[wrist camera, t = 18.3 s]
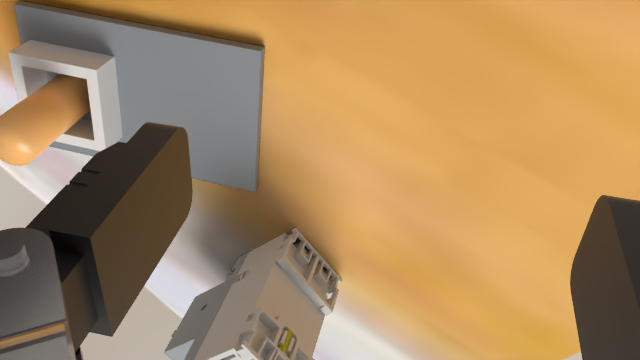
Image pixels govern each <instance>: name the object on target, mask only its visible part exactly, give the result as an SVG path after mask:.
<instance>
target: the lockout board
mask: <svg viewBox="0 0 640 360" xmlns="http://www.w3.org/2000/svg"><path fill="white" fill-rule="evenodd" d="M14 9H15V14H16V19H17V24H18V30H19V35H20V40H21V45H20V46H19V47H17V48H15V49H14V50H12V51H10V52H8V53H9V58H10V63H11V68H12V73H13V78H14V83H15V88H16V92H17V97H18V102H21V101H22V100H24V99H25V98H26V97H28V96H29V95H31V94H32V93H33V92H35V91H36V90H38V89H39V88H40V87H42V86H43V85H45V84H46V83H47V82H49V81H50V80H52V79H53V78H54V77H56V76H57V75H59V74H64V75H69V76H74V77H79V78H84V79H87V86H88V94H89V101H90V109H91V110H90V111H89V112H88V113H86V114H85V115H84V116H83V117H82V118H81V119H79V120H78V121H77V122H76V123H75V124H74V125H72V126H71V127H70V128H69V129H68V130H67V131H65V132H64V133H63V134H62V135H61V136H60V137H59V138H57V139H56V140H55V141H54V142H53V143H52V144H50V145H49V146H50V147H54V148H59V149H63V150H68V151H72V152H77V153H81V154H86V155H90V156H94V155H95V154H96V153H98V152H100V151H102V150H104V149H106V148H108V147H110V146H111V145H113V144H115V143H117V142H124V143H127V142H128V141H129V140H130V139H131V138H132V136H133V135H134V134H135V133H136V132H137V131H138V130H139V129H140V128H141V126H142V125H143V124H144V123H146V122H152V123H158V124H165V125H171V126H177V127H183V128H184V129H185V130H186V132H187V135H188V144H189V155H190V167H191V178H194V179H198V180H203V181H207V182H212V183H216V184H221V185H225V186H230V187H234V188H239V189H243V190H248V191H252V192H255V190H256V188H257V187H258V171H259V152H260V132H261V112H262V92H263V73H264V53H265V47H263V46H258V45H252V44H247V43H242V42H236V41H231V40H226V39H221V38H215V37H210V36H205V35H199V34H194V33H189V32H184V31H178V30H173V29H168V28H162V27H157V26H152V25H146V24H141V23H136V22H131V21H125V20H120V19H115V18H109V17H104V16H99V15H94V14H88V13H83V12H78V11H72V10H67V9H62V8H57V7H51V6H46V5H41V4H35V3H30V2H25V1H20V2H17V3H15V4H14Z"/></svg>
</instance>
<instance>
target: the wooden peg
mask: <svg viewBox="0 0 640 360" xmlns="http://www.w3.org/2000/svg"><path fill="white" fill-rule="evenodd" d="M90 110H91V109H90V101H89V94H88V86H87V79H84V78H79V77H74V76H69V75H64V74H59V75H57V76H56V77H54V78H53V79H52V80H50V81H49V82H47V83H46V84H45V85H43V86H42V87H40V88H39V89H38V90H36V91H35V92H33V93H32V94H31V95H29V96H28V97H26V98H25V99H24V100H22V101H21V102H19V103H18V104H16V105H15V106H14V107H12V108H11V109H9V110H8V111H7V112H5V113H4V114H2V115H1V116H0V159H1V160H2V161H4V162H6V163H8V164H11V165H14V166H24V165H26V164H28V163H30V162H31V161H32V160H33V159H34V158H35V157H37V156H38V155H39V154H40V153H41V152H42V151H43V150H45V149H46V148H47V147H48V146H49V145H50V144H52V143H53V142H54V141H55V140H56V139H57V138H59V137H60V136H61V135H62V134H63V133H64V132H65V131H67V130H68V129H69V128H70V127H71V126H72V125H74V124H75V123H76V122H77V121H78V120H79V119H81V118H82V117H83V116H84V115H85V114H86V113H88V112H89V111H90Z"/></svg>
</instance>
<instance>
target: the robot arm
mask: <svg viewBox="0 0 640 360" xmlns="http://www.w3.org/2000/svg"><path fill="white" fill-rule="evenodd" d="M191 202H192V178H191V167H190V155H189V144H188V135H187V132H186V130H185V129H184V128H183V127H177V126H171V125H165V124H158V123H152V122H146V123H144V124H143V125H142V126H141V128H140V129H139V130H138V131H137V132H136V133H135V134H134V135H133V136H132V138H131V139H130V140H129V141H128V142H127V143H124V142H117V143H115V144H113V145H111V146H110V147H108V148H106V149H104V150H102V151H100V152H98V153H96V154H95V155H94V157H93V158H92V159H91V160H90V161H89V162H88V163H87V164H86V165H85V166H84V167H83V168H82V171H81V172H78V173H77V174H76V175H75V176H74V177H73V179H72V180H71V181H70V184H69V185H66V186H65V187H64V188H63V189H62V190H61V191H60V192H59V193H58V194H57V195H56V196H55V197H54V198H53V200H52V201H51V202H50V203H49V204H48V205H47V206H46V207H45V208H44V209H43V210H42V211H41V212H40V213H39V214H38V215H37V216H36V217H35V218H34V219H33V221H32V222H31V223H30V224H29V225H28V226H27V227H26V228H12V229H6V230H2V231H0V360H83V355H82V351H81V347H80V345H81V344H82V342H83V341H84V339H85V338H86V336H87V334H88V333H89V332H93V333H97V334H102V335H106V336H113V334H114V333H115V331H116V330H117V328H118V326H119V325H120V323H121V322H122V320H123V318H124V317H125V315H126V313H127V312H128V310H129V309H130V307H131V306H132V304H133V302H134V301H135V299H136V297H137V296H138V295H139V293H140V291H141V290H142V288H143V287H144V285H145V283H146V282H147V280H148V279H149V277H150V275H151V274H152V272H153V271H154V269H155V267H156V266H157V264H158V263H159V261H160V260H161V258H162V256H163V255H164V253H165V252H166V250H167V248H168V247H169V245H170V244H171V242H172V240H173V239H174V237H175V236H176V234H177V232H178V231H179V229H180V228H181V226H182V225H183V223H184V221H185V220H186V218H187V216H188V213H189V210H190V207H191ZM570 287H571V295H572V301H573V306H574V312H575V318H576V324H577V330H578V336H579V342H580V347H581V353H582V359H583V360H640V201H637V200H631V199H624V198H618V197H612V196H606V195H602V196H601V197H600V198H599V199H598V200H597V202H596V204H595V207H594V209H593V212H592V214H591V217H590V219H589V222H588V224H587V227H586V229H585V232H584V234H583V237H582V239H581V242H580V244H579V247H578V250H577V252H576V255H575V257H574V261H573V265H572V270H571V279H570Z"/></svg>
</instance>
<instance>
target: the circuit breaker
mask: <svg viewBox="0 0 640 360" xmlns="http://www.w3.org/2000/svg"><path fill="white" fill-rule="evenodd" d="M292 232H293V233H292V234H290V235H287V233H284V234H282V235H280V236H278V237H276V238H274V239H273V240H271V241H269V242H267V243H265V244H263V245H261V246H259V247H257V248H255V249H253V250H252V251H250V252H248V253H246V254H244V255H242V256H240V257H238V258H237V260H236V262H235V264H234V266H233V268H232V271H233V274H229V275H228V277H227V279H226V281H225V282H224V283H222V284H220V285H218V286H216V287H214V288H212V289H210V290H208V291H206V292H204V293H202V294H200V295H198V296H196V297H195V299H194V300H193V302H192V304H191V306H190V307H189V309H188V311H187V313H186V314H185V316H184V318H183V320H182V322H181V323H180V325H179V327H178V329H177V330H175V331H174V333H173V335H172V339H171V341H170V343H169V344H168V346H167V348H166V350H165V352H164V353H165V354H166V355H168V356H169V357H170V358H171V359H172V360H314V359H313V358H312V355H313V352H314V349H315V346H316V342H317V339H318V336H319V333H320V329H321V326H322V323H323V320H324V317H325V315H326V316H327V315H328V314H330V313H331V312H332V311H333V308H334V305H335V301H336V298H337V295H338V291H339V290H338V289H337V284H338V283H340V282H341V281H342V279H341V278H340V277H339V276H338V275H337V273H336V272H335V271H334V270H333V269H332V268H331V267H330V266H329V264H328V263H327V262H326V261H325V260H324V259H323V258H322V256H321V255H320V254H319V253H318V252H317V251H316V250H315V249H314V247H313V246H312V245H311V244H310V243H309V242H308V241H307V239H306V238H305V237H304V236H303V235H302V234H301V233H300V232H299V230H298V229H297V228H294V229H292ZM297 238H298V239H299V240H300V242H298V243H296V244H293V243H294V242H295V241H296V239H297ZM305 246H306V247H307V248H308V249H309V250H310V251H307V250H306V249H305V248H304V247H305ZM312 255H313V256H312ZM318 261H319V262H318ZM323 266H324V267H325V268H326V269H327V271H325V270H324V269H323ZM330 275H331V277H330ZM330 296H332V297H331V298H330V299H327V297H330Z"/></svg>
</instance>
